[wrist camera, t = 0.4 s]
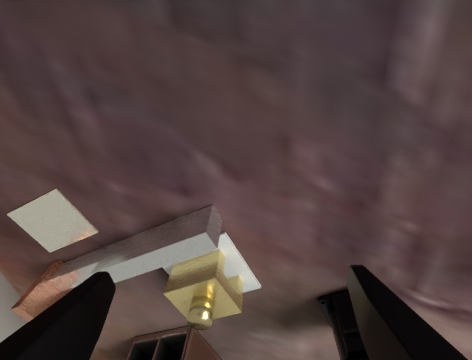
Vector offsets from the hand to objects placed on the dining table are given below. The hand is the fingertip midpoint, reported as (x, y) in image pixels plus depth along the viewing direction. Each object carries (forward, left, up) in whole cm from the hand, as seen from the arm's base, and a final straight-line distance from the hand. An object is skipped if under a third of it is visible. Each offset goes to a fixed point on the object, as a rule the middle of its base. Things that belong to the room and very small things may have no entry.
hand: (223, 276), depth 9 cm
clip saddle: (-12, +10, -13) cm, 21 cm away
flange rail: (-2, +16, -13) cm, 21 cm away
